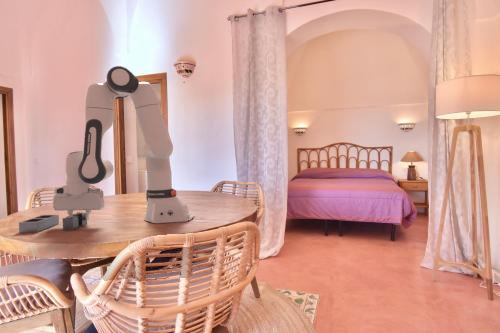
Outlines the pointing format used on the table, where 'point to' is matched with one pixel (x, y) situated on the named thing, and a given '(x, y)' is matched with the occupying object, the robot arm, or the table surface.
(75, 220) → the dark grey block
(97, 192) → the robot arm
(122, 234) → the table surface
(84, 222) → the nut
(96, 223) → the table surface
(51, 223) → the grey holder block
